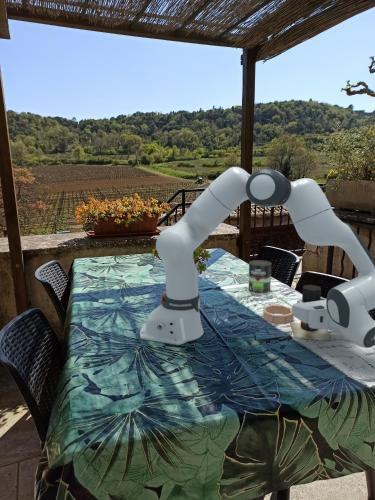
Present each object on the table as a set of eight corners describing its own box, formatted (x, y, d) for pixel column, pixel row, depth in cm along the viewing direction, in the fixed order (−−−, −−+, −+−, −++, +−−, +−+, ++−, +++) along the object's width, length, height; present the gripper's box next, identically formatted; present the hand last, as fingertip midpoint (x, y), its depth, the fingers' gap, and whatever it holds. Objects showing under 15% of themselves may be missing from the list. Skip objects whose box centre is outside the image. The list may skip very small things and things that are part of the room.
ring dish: (264, 322, 127) (264, 315, 126) (262, 311, 138) (262, 304, 137) (294, 324, 125) (294, 316, 125) (290, 312, 136) (291, 305, 135)
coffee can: (268, 296, 155) (269, 266, 152) (246, 293, 159) (246, 264, 156) (272, 289, 164) (273, 260, 161) (250, 287, 168) (251, 259, 165)
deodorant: (319, 332, 118) (322, 290, 114) (301, 330, 119) (304, 289, 115) (316, 324, 123) (319, 285, 120) (299, 323, 124) (301, 284, 121)
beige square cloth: (294, 338, 114) (294, 337, 114) (290, 323, 126) (290, 322, 126) (332, 340, 112) (332, 339, 112) (324, 325, 124) (324, 323, 124)
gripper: (363, 302, 109) (334, 288, 122) (307, 310, 103) (283, 295, 116) (362, 320, 110) (333, 305, 123) (306, 329, 105) (283, 312, 118)
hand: (308, 300), depth 120 cm, fingers open, 7 cm apart
